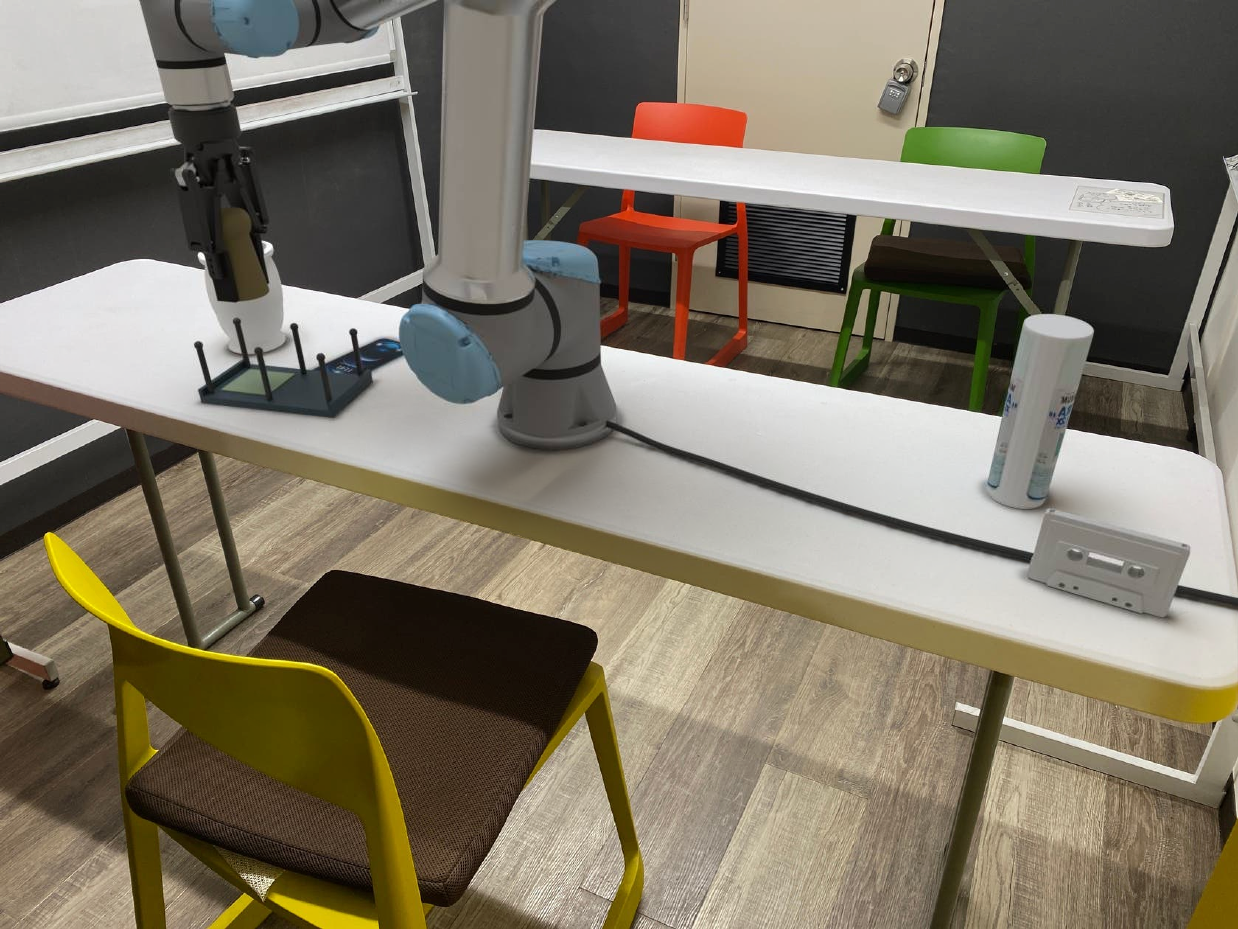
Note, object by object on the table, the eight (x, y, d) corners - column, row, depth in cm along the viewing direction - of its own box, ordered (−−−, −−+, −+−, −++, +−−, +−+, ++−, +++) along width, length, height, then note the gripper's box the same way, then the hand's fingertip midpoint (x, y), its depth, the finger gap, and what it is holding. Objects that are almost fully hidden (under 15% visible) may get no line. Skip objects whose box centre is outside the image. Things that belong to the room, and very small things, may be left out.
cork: (212, 293, 118) (191, 209, 112) (256, 281, 121) (238, 200, 116) (233, 305, 114) (212, 218, 108) (277, 293, 118) (259, 209, 112)
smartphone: (419, 346, 137) (345, 382, 126) (419, 350, 137) (345, 386, 127) (382, 336, 141) (307, 371, 130) (383, 340, 141) (308, 374, 130)
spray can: (993, 472, 104) (1032, 309, 94) (1053, 489, 101) (1100, 322, 90) (977, 498, 99) (1016, 328, 89) (1039, 516, 96) (1086, 343, 86)
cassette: (1166, 610, 83) (1193, 542, 79) (1165, 622, 81) (1191, 553, 77) (1028, 570, 88) (1046, 504, 84) (1025, 580, 87) (1043, 514, 83)
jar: (270, 360, 134) (247, 262, 126) (208, 355, 135) (181, 258, 128) (305, 333, 143) (286, 240, 135) (246, 329, 144) (224, 237, 137)
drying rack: (373, 382, 127) (363, 325, 122) (333, 417, 118) (321, 357, 113) (248, 369, 131) (235, 314, 127) (201, 402, 122) (184, 344, 118)
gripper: (222, 90, 114) (260, 266, 126) (116, 117, 99) (171, 315, 111) (274, 92, 113) (308, 270, 125) (175, 120, 97) (225, 321, 109)
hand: (244, 291), depth 118 cm, fingers closed on cork, 6 cm apart
